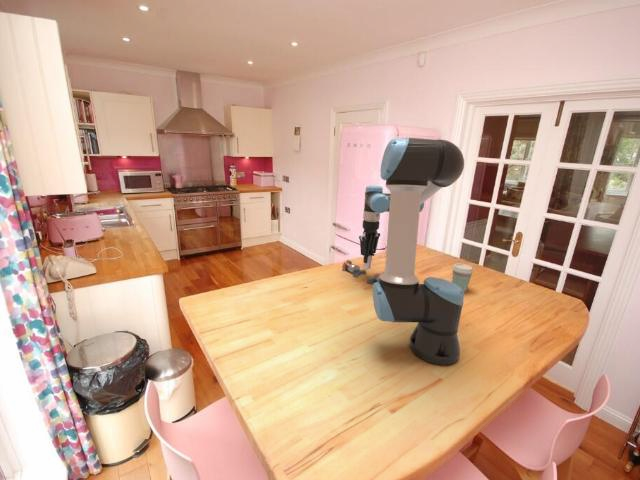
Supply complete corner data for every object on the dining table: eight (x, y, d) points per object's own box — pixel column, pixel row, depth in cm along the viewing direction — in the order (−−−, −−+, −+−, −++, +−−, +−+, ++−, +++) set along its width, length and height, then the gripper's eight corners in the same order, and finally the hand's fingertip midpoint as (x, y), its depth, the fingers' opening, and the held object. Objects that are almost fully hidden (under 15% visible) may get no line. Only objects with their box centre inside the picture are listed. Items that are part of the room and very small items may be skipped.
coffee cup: (464, 287, 140) (469, 263, 137) (472, 296, 132) (477, 270, 129) (446, 286, 141) (450, 262, 138) (452, 294, 133) (456, 269, 129)
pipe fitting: (382, 291, 132) (383, 278, 130) (340, 273, 150) (341, 261, 149) (393, 286, 138) (395, 274, 136) (351, 270, 156) (352, 258, 154)
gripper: (368, 223, 129) (363, 274, 135) (387, 220, 138) (382, 267, 144) (355, 220, 134) (351, 269, 140) (374, 217, 143) (369, 263, 150)
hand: (366, 268), depth 142 cm, fingers closed
